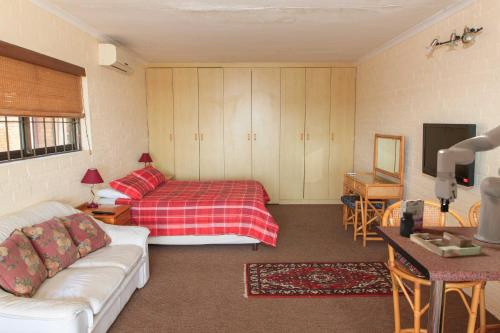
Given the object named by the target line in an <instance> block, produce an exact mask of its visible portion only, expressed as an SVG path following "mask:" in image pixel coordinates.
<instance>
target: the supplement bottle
mask: <svg viewBox="0 0 500 333" xmlns="http://www.w3.org/2000/svg"><path fill="white" fill-rule="evenodd" d="M400 217H401V216H400ZM412 217H413V213H412V212H403V217H401V219H400V221H399V232H398V233H399V235H400V236H402V237H404V238H410V234H415V230H414V225H415V220H414V218H412Z"/></svg>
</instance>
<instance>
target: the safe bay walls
mask: <svg viewBox="0 0 500 333" xmlns="http://www.w3.org/2000/svg"><path fill="white" fill-rule="evenodd" d="M439 248H441V249H456V248H459V247H457V246H450V245H449V246H442V247H439ZM460 249H462V250H461V256H462V257H463V256H473V255H481V254H482V250H483V249H482V246H479V245H477V244H474V243H472V244H471V247H470V248H460ZM461 256H460V257H461Z"/></svg>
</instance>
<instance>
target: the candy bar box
mask: <svg viewBox="0 0 500 333" xmlns="http://www.w3.org/2000/svg"><path fill="white" fill-rule="evenodd" d="M400 202H401V203H400V219H401V217H403V212H412V213H413V217H412V218H414V220H415V225H414V231H419V230H421V231H422V230H423V226H424V225H423V224H424V209H425V208H424V207H425V200H424V199H423V198H422V199H421V198H406V199H405V198H403V199H401V201H400Z"/></svg>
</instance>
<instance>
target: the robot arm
mask: <svg viewBox="0 0 500 333" xmlns="http://www.w3.org/2000/svg"><path fill="white" fill-rule="evenodd" d="M498 147H500V125H498V126H496V127H493V128H492V129H490V130H489V131H486V132H485V133H482V134H480V135H478V136H474V137H471V138H467V139H465V140H462V141H460V142H457V143H456V144H454V145H451V147H449V148H445V149H443V148H442V149H439V150H438V151H437V162H436V163H437V164H436V166H437V167H436V177H435V178H436V179H435V184H434V185H435V186H434V195H435V197H436V199H438V200H439V204H440V212H441V213H449V209H450V206H449V205H450V204H451V203H455V199H456V200H457V198H458V184H457V179H456V178H455V177H456V165H466V166H467V165H469V164H472V163H473V162H474V161H475V159H476V154H475V153H480V152H488V151H492V150H495V149H497V148H498ZM497 174H498V176H499V177H496V176H487V177H485V178H483V179H482V180H481V182H480V186H479V190H480V208H479V216H478V228H477V233H474V234H473V238H474V239H476V240H478V241H480V242H483V243H489V244H497V245H498V244H500V167H499V168H498V170H497Z"/></svg>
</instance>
